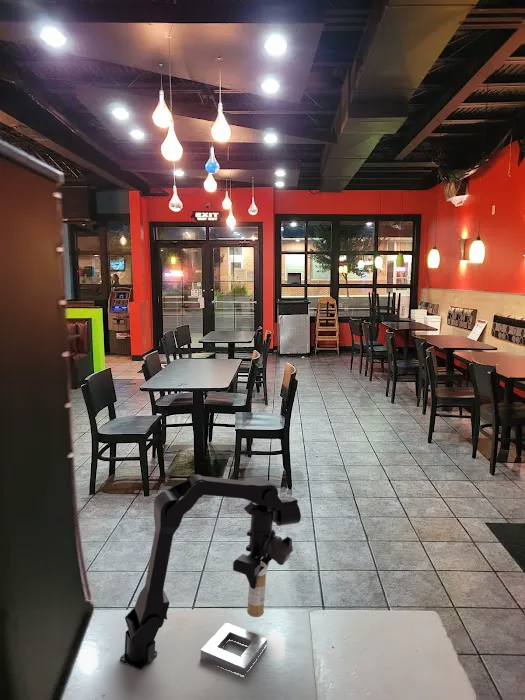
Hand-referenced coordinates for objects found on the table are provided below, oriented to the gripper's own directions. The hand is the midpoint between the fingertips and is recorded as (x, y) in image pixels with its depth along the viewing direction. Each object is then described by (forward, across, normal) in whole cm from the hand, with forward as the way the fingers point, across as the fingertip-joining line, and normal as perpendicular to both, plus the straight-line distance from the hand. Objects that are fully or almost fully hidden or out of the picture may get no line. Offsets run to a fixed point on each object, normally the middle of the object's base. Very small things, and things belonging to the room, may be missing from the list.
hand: (257, 584), depth 130 cm
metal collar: (+13, -11, 0) cm, 17 cm away
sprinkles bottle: (+8, 0, 0) cm, 8 cm away
